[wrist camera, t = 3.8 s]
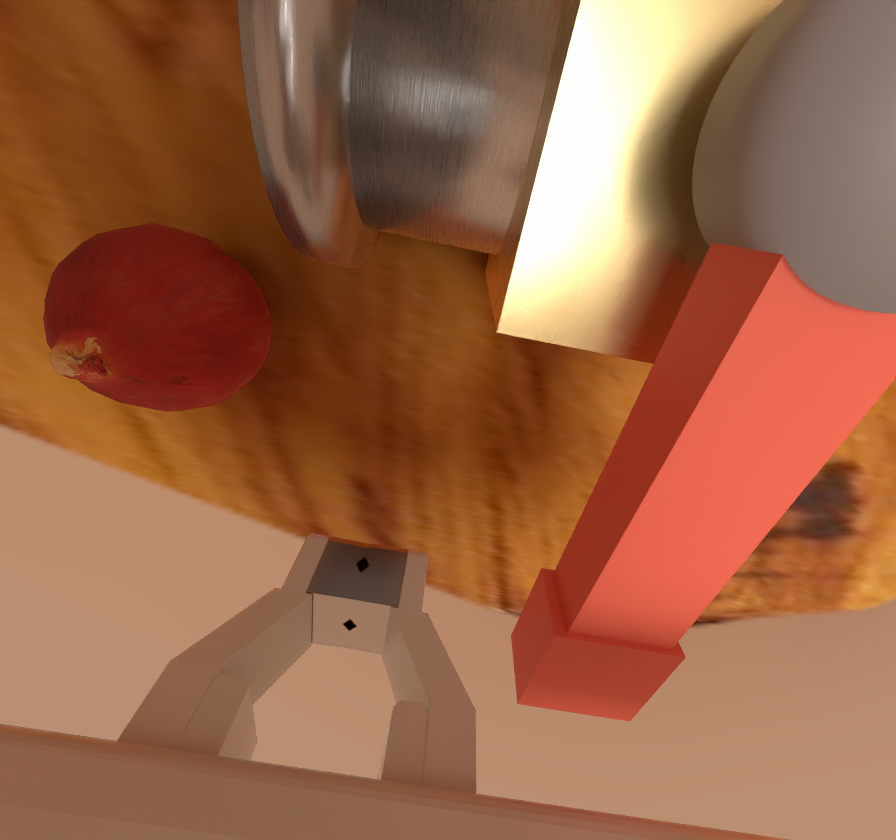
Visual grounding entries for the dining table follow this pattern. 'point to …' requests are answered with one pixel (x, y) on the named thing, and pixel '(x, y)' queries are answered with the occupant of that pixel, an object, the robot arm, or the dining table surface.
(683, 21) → the valve body
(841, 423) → the lever
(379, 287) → the dining table surface
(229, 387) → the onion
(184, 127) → the dining table surface
